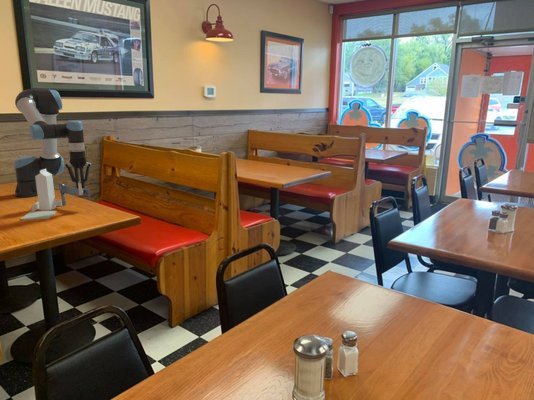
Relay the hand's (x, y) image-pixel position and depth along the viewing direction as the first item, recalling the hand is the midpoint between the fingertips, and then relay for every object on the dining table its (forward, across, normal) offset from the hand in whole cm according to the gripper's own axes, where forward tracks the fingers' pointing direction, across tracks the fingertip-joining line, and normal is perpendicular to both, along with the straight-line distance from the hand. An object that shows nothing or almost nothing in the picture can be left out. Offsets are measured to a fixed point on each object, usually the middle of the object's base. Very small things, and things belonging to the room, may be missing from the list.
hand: (81, 194), depth 222 cm
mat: (+9, -19, -8) cm, 23 cm away
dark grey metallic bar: (+2, -5, +7) cm, 9 cm away
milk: (+9, -20, +5) cm, 22 cm away
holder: (+9, -19, +7) cm, 22 cm away
